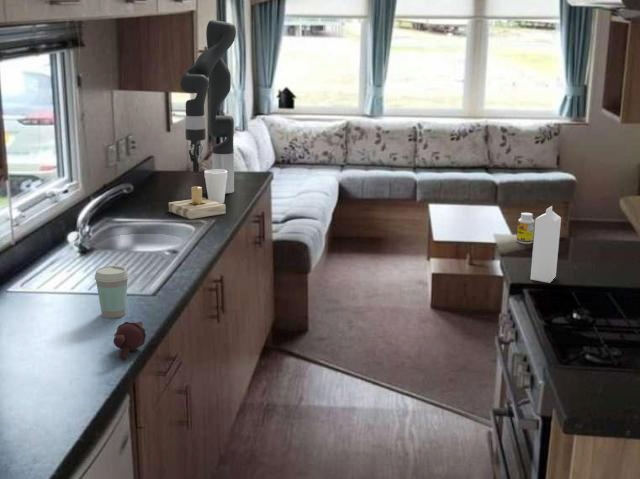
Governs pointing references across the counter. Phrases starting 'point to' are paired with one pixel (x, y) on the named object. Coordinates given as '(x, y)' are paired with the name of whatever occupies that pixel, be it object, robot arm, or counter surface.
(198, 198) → the brass cylinder
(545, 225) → the milk
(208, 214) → the plate
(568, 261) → the counter surface
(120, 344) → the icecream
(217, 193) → the foam cup
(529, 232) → the supplement bottle
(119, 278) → the coffee cup
